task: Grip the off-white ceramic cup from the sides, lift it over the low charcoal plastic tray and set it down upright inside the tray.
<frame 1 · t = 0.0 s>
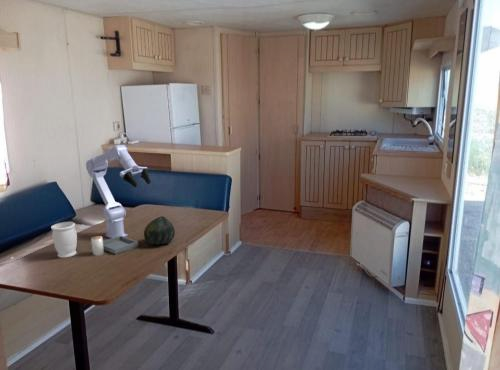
hand: (142, 184, 190), 32 cm above the table, tool tilted 50°, fingers open, 7 cm apart
tray: (118, 247, 199), on the table
squash: (160, 243, 204), on the table
cup: (98, 253, 192), on the table
jar: (67, 255, 191), on the table
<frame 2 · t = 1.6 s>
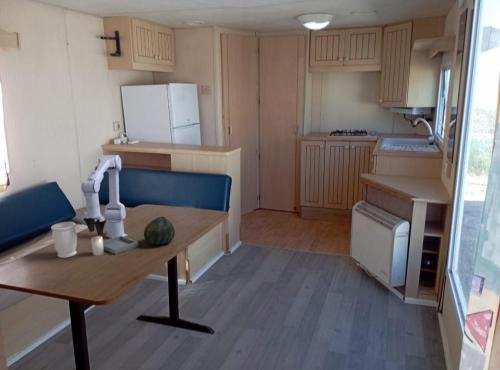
hand: (96, 233, 189), 10 cm above the table, tool pointing down, fingers open, 7 cm apart
nothing on the table moved.
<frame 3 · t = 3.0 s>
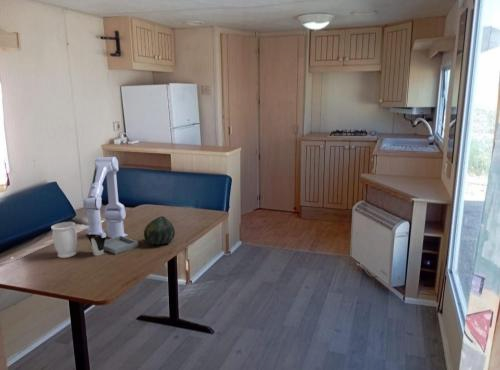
hand: (97, 248, 191), 2 cm above the table, tool pointing down, fingers closed on cup, 5 cm apart
cup: (98, 253, 192), on the table, touching gripper
everything else where it was.
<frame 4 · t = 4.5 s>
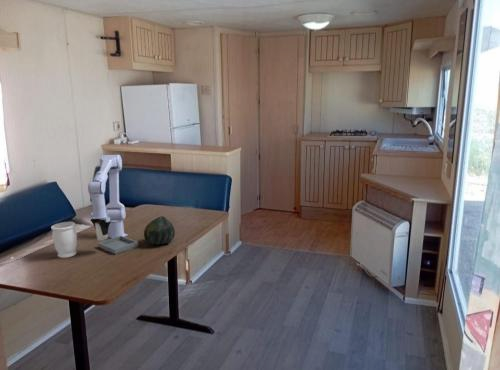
hand: (102, 233, 192), 9 cm above the table, tool pointing down, fingers closed on cup, 5 cm apart
cup: (102, 238, 192), point 7 cm above the table, touching gripper
everything else where it was.
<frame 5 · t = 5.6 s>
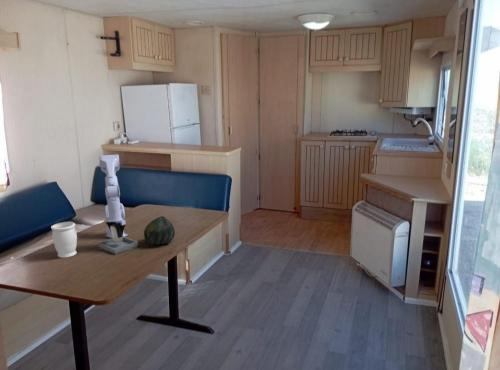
hand: (117, 236, 198), 6 cm above the table, tool pointing down, fingers closed on cup, 5 cm apart
cup: (117, 240, 198), point 3 cm above the table, touching gripper
everything else where it was.
when the fingers open (4 cm above the table, at t = 6.4 s): cup drops 1 cm, resting on tray.
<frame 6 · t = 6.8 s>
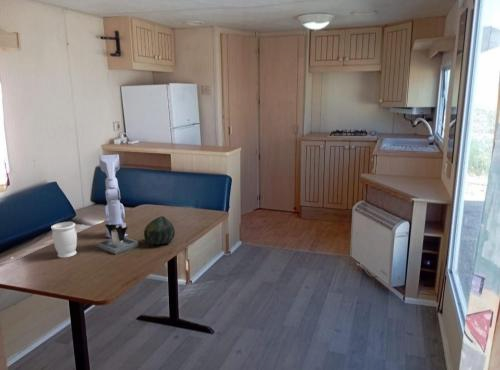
hand: (117, 238, 198), 4 cm above the table, tool pointing down, fingers open, 7 cm apart
cup: (118, 245, 199), point 1 cm above the table, touching tray
everything else where it was.
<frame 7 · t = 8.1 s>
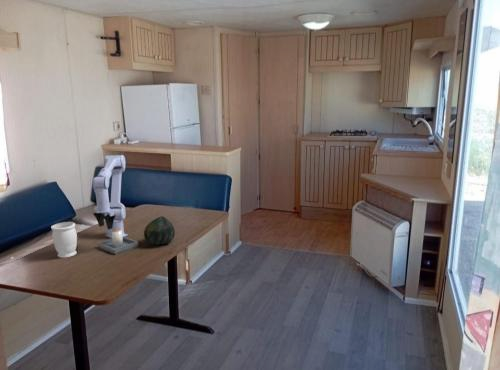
hand: (105, 227, 197), 10 cm above the table, tool pointing down, fingers open, 7 cm apart
nothing on the table moved.
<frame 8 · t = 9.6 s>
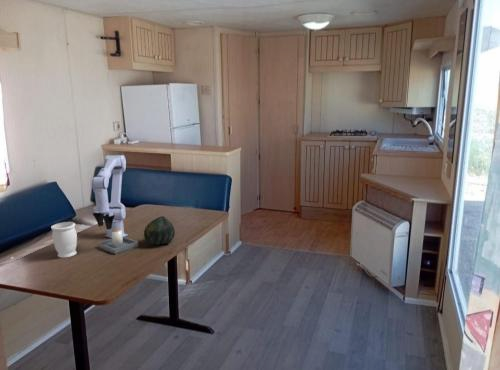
hand: (105, 227, 197), 10 cm above the table, tool pointing down, fingers open, 7 cm apart
nothing on the table moved.
at the end: cup inside the target area on the tray (0.1 cm from its centre), point 0.6 cm above the tray's base; cup tilted 0°; the gripper is holding nothing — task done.
